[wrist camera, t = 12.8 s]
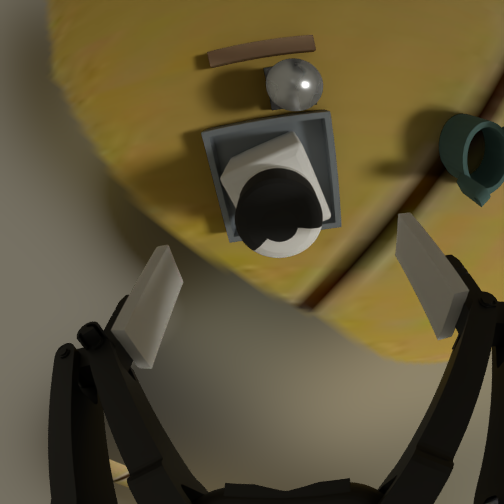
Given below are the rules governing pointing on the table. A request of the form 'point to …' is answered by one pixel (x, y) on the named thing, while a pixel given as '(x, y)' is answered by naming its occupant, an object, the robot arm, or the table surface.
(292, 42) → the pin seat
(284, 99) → the knob
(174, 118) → the table surface
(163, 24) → the table surface
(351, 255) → the table surface
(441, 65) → the table surface
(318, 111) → the tray
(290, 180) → the medicine bottle
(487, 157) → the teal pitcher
